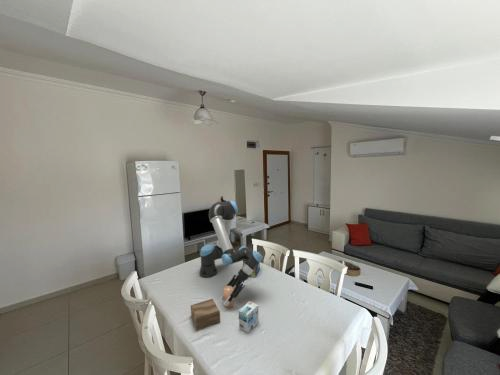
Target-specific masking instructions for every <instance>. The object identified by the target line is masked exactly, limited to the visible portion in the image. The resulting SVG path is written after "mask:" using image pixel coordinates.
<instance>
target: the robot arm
mask: <svg viewBox="0 0 500 375" xmlns="http://www.w3.org/2000/svg"><path fill="white" fill-rule="evenodd" d="M238 209H239V208H238V205H237V203H236V202H235V201H234V200H227V201H221V202H215V203H213V204H212V205H211V207H210V208H209V211H208V219H209V222H210V223H212V227H213V229H214V232H215V234H216V237H217V241H216V245H213V244H206V245H204V246H202V247H201V249H200V252H199V255H200V267H199V271H198V273H199V276H200V277H201V278H212V277H215V276H217V274H218V268H217V265H216V261H217V260H220V259H221V262H222V264H223V265H224V266H230V265H233V264H236V263H238V262H243V260H246V263H245V264H244V265H243V264H242V266H241V268H240V269H239V271H238V272H237V275H236V274H234V275H233V277H232V278H231V279H230V281H229V282H228V283H227V284H226V286H232V287H233V292H232V294H231V295H230V296H229V297H228V298H227V300H226V301H225V302H224V293H223V294H222V295H221V296H220V300H222V301H223V306H224V305H225V306H227V305H228V304H229V303H230V302H231V301H232V299H233V300H234V299H237V298H238V296H239V294H240V293H241V292H242V290H243V289H244V288H245V287H246V285H245V281H247V280H249V278H250V277H249V275H251V273H252V272H253V271H254V269H255V268H256V267H257V265H258V264H259V263H260V264H261V261H262V259H263V258H264V256H263V255H262V254H261V253H260V252H259V251H257V250H254V251H252V250H251V249H250V248H248V247H247V246H245V245H243V246H240V247H239V248H238V250H235V249H234V247H233V245H232V243H231V240H230V234H231V228H232V220H234V219H235V215H237V214H238V213H239V210H238ZM258 252H259V253H258Z"/></svg>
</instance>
